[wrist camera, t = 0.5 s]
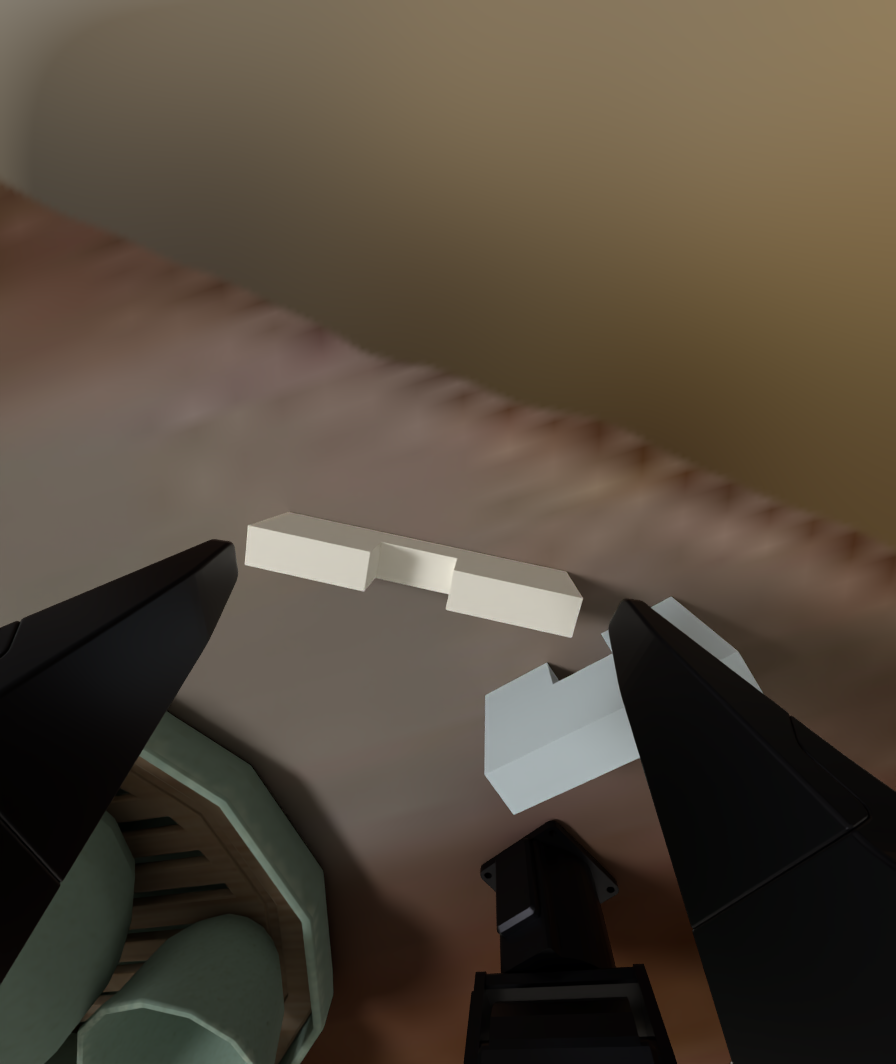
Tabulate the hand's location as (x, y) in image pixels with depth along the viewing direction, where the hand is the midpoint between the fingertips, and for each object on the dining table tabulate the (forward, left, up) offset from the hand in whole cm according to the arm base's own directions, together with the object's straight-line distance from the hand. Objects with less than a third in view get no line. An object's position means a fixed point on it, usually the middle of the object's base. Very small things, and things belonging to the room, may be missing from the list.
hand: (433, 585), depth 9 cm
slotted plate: (-12, +1, -13) cm, 17 cm away
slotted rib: (-1, +4, -13) cm, 13 cm away
